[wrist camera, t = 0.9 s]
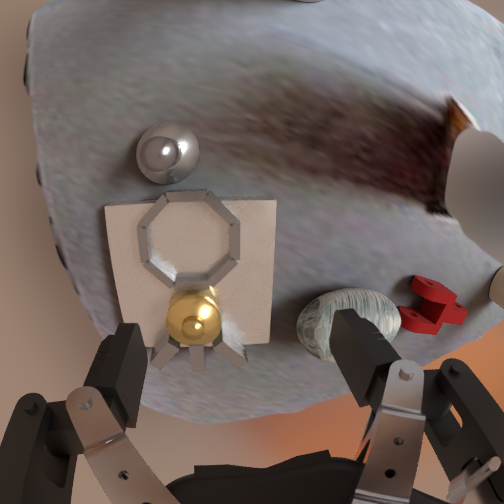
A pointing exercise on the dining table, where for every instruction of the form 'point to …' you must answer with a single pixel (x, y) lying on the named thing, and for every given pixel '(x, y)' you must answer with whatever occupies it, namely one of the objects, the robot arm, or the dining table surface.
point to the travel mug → (498, 288)
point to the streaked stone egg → (323, 307)
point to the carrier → (195, 272)
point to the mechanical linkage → (431, 308)
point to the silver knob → (167, 152)
